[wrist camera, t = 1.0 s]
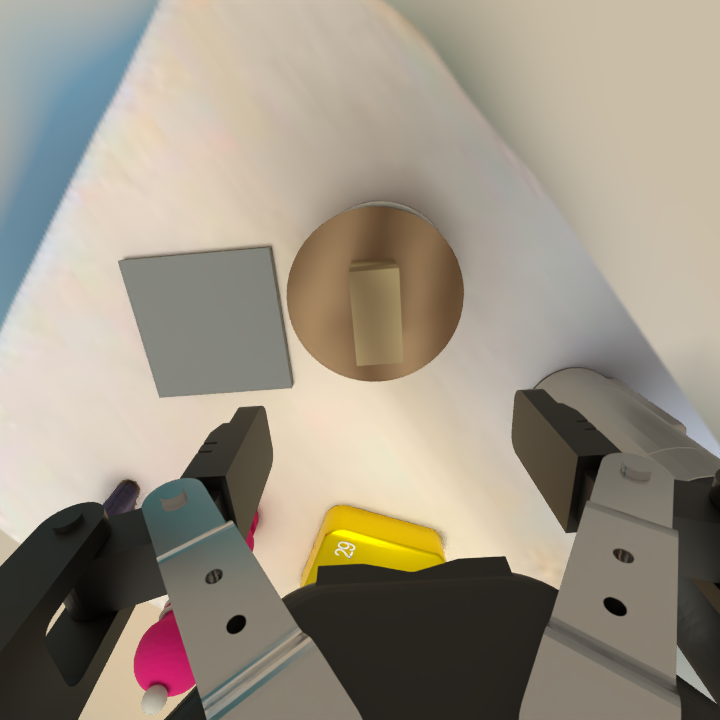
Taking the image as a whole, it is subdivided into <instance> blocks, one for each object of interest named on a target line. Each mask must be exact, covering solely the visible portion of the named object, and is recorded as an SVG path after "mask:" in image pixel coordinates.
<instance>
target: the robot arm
mask: <svg viewBox="0 0 720 720" xmlns="http://www.w3.org/2000/svg"><path fill="white" fill-rule="evenodd" d="M512 443H513V448H514V450H515V453H516V454H517V456H518V458H519V459H520V461H521V462H522V464H523V466H524V467H525V469H526V470H527V472H528V474H529V475H530V477H531V478H532V480H533V481H534V483H535V485H536V486H537V488H538V489H539V491H540V493H541V494H542V496H543V497H544V499H545V501H546V502H547V504H548V505H549V507H550V508H551V510H552V512H553V513H554V515H555V516H556V518H557V520H558V521H559V523H560V524H561V526H562V528H563V529H564V531H565V532H566V533H574V532H577V534H576V537H575V541H574V544H573V547H572V550H571V553H570V557H569V560H568V563H567V566H566V570H565V573H564V576H563V579H562V583H561V586H560V589H559V590H557V589H556V588H554V587H552V586H550V585H548V584H546V583H544V582H542V581H539V580H537V579H534V578H531V577H528V576H525V575H521V574H517V573H512V572H511V569H510V567H509V565H508V562H507V560H506V557H505V556H502V557H483V558H463V559H456V560H453V561H449V562H446V563H442V564H439V565H436V566H432V567H429V568H425V569H422V570H419V571H414V572H409V571H402V570H397V569H391V568H386V567H380V566H374V565H369V564H345V565H326V566H318V571H317V579H316V582H314V583H311V584H308V585H306V586H304V587H301V588H299V589H297V590H295V591H293V592H291V593H290V594H288V595H286V596H285V597H283V598H282V599H281V598H280V596H279V595H278V593H277V591H276V590H275V588H274V587H273V585H272V583H271V582H270V580H269V579H268V577H267V575H266V574H265V572H264V571H263V569H262V567H261V566H260V564H259V562H258V561H257V559H256V558H255V556H254V554H253V553H252V551H251V550H250V548H249V546H248V545H247V543H246V539H247V536H248V533H249V531H250V528H251V525H252V522H253V519H254V516H255V513H256V510H257V508H258V505H259V502H260V499H261V496H262V493H263V490H264V487H265V484H266V482H267V479H268V476H269V473H270V470H271V467H272V462H273V448H272V442H271V437H270V431H269V426H268V420H267V415H266V411H265V408H264V407H263V406H252V407H239V408H238V410H237V411H236V413H235V415H234V416H233V418H232V419H231V421H230V423H223V424H222V425H220V426H219V427H218V428H216V429H215V430H214V431H212V432H211V433H210V434H209V436H208V437H207V439H206V440H205V442H204V445H202V446H201V448H200V449H199V451H198V453H197V454H196V455H195V457H194V458H193V460H192V461H191V463H190V464H189V466H188V467H187V469H186V470H185V472H184V473H183V475H182V476H181V478H180V479H177V480H173V481H170V482H168V483H165V484H163V485H161V486H160V487H158V488H156V489H155V490H154V491H152V492H151V493H150V494H149V495H148V496H147V497H146V498H145V500H144V502H143V504H142V508H139V509H136V510H132V511H129V512H125V513H121V514H118V515H114V516H110V517H108V516H107V514H106V511H105V509H104V507H103V505H101V504H99V503H96V502H86V503H80V504H76V505H73V506H70V507H68V508H65V509H63V510H61V511H59V512H57V513H55V514H54V515H52V516H51V517H49V518H48V519H46V520H45V521H44V522H42V523H41V524H40V525H39V526H38V527H37V528H36V529H35V530H34V531H33V533H32V534H31V535H30V536H29V537H28V538H27V539H26V540H25V541H24V542H23V543H22V544H21V545H20V546H19V547H18V548H17V550H16V551H15V552H14V553H13V554H12V555H11V556H10V557H9V558H8V559H7V560H6V561H5V562H4V563H3V565H1V566H0V720H78V718H79V716H80V714H81V712H82V710H83V708H84V706H85V704H86V703H87V701H88V699H89V697H90V695H91V693H92V691H93V689H94V687H95V684H96V683H97V681H98V679H99V677H100V675H101V673H102V671H103V669H104V667H105V665H106V663H107V661H108V659H109V657H110V655H111V653H112V651H113V649H114V647H115V645H116V643H117V641H118V639H119V637H120V635H121V633H122V631H123V629H124V628H125V626H126V624H127V622H128V620H129V618H130V616H131V614H132V611H133V610H134V608H135V605H136V604H139V603H143V602H146V601H149V600H152V599H155V598H158V597H161V596H164V595H167V594H168V597H169V600H170V603H171V606H172V609H173V612H174V616H175V619H176V622H177V625H178V628H179V631H180V635H181V638H182V641H183V644H184V647H185V650H186V654H187V657H188V660H189V663H190V666H191V669H192V673H193V676H194V679H195V682H196V686H195V687H194V688H193V689H192V691H191V692H190V693H189V694H188V695H187V696H186V697H185V698H184V699H183V700H182V701H181V702H180V703H179V704H178V705H177V707H176V708H175V709H174V710H173V711H172V712H171V713H170V714H169V715H168V716H167V717H166V718H165V719H164V720H720V459H719V458H718V457H716V456H715V455H713V454H712V453H710V452H709V451H708V450H706V449H705V448H703V447H702V446H701V445H699V444H698V443H696V442H695V441H693V440H692V439H691V438H689V437H688V436H686V427H685V426H684V425H683V424H682V423H681V422H679V421H678V420H676V419H675V418H673V417H672V416H671V415H669V414H668V413H666V412H665V411H663V410H662V409H660V408H659V407H657V406H656V405H654V404H653V403H651V402H650V401H648V400H647V399H646V398H644V397H643V396H641V395H640V394H638V393H637V392H635V391H634V390H632V389H631V388H629V387H628V386H626V385H625V384H624V383H622V382H621V381H619V380H618V379H616V378H612V379H609V378H605V377H603V376H602V375H600V374H599V373H597V372H595V371H592V370H590V369H584V368H570V369H566V370H562V371H559V372H556V373H554V374H552V375H550V376H549V377H547V378H546V379H544V380H543V381H542V382H541V383H540V384H539V385H537V386H536V388H535V389H528V390H518V391H517V392H516V394H515V398H514V410H513V422H512ZM62 603H64V605H65V609H64V611H63V612H62V613H61V615H60V616H59V618H58V619H57V621H56V622H55V624H54V625H53V627H52V628H51V629H50V631H49V633H48V634H47V636H46V631H47V628H48V625H49V623H50V621H51V619H52V617H53V616H54V614H55V613H56V611H57V610H58V609H59V607H60V606H61V604H62ZM677 645H678V647H679V648H680V650H681V651H682V653H683V654H684V656H685V657H686V659H687V660H688V662H689V663H690V665H691V666H692V668H693V669H694V671H695V672H696V674H697V675H698V676H699V678H700V679H701V681H702V682H703V684H704V685H705V687H706V688H707V690H708V691H709V693H710V694H711V696H712V697H713V699H714V700H715V702H716V703H717V704H718V705H717V704H716V703H715V702H713V701H711V699H709V698H708V697H706V696H705V695H704V694H702V693H701V692H700V691H698V690H697V689H695V688H694V687H693V686H691V685H690V684H689V683H687V682H686V681H684V680H683V679H682V678H680V677H679V676H678V675H676V648H677Z"/></svg>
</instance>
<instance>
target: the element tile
mask: <svg viewBox="0 0 720 720" xmlns="http://www.w3.org/2000/svg"><path fill="white" fill-rule="evenodd" d="M442 563H446V559H445V555H444V550H443V546H442V542H441V537H440V536H439V534H438V533H437V532H436V531H434V530H432V529H430V528H426V527H423V526H419V525H415V524H412V523H408V522H405V521H401V520H397V519H394V518H390V517H387V516H383V515H379V514H376V513H372V512H369V511H365V510H361V509H358V508H354V507H350V506H346V505H339V506H335V507H332V508H331V509H330V510H329V511H328V512H327V514H326V516H325V518H324V521H323V523H322V526H321V529H320V531H319V534H318V536H317V539H316V541H315V544H314V546H313V549H312V551H311V554H310V556H309V559H308V561H307V564H306V567H305V569H304V572H303V574H302V580H301V586H300V588H301V587H304V586H306V585H308V584H311V583H314V582H316V579H317V571H318V566H326V565H345V564H369V565H374V566H380V567H386V568H391V569H397V570H402V571H409V572H414V571H419V570H422V569H425V568H429V567H432V566H436V565H439V564H442Z"/></svg>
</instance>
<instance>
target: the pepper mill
mask: <svg viewBox="0 0 720 720" xmlns="http://www.w3.org/2000/svg"><path fill="white" fill-rule="evenodd" d="M257 523H258V513H257V511H256V513H255V516H254V519H253V522H252V525H251V528H250V531H249V533H248V536H247V539H246V543H247V545H248V546H249V548H250V550H251V551H252V552H253V548H254V538H253V534H254V532H255V529H256V526H257ZM134 673H135V677H136V679H137V681H138V683H139V685H140V686H141V687H142V688H143V689H144V690H145V691H146V693H145V694H144V696H143V699H142V703H141V705H142V710H143V711H144V713H146V714H148V715H153V714H156V713H158V712H159V711H160V710H161V709H162V708H163V707H164V705H165V703H166V701H167V697H170V696H175V695H179V694H182V693H184V692H186V691H187V690H189V689H190V688H191V687H193V686H194V685H195V684H196V682H195V679H194V676H193V673H192V669H191V666H190V663H189V660H188V657H187V654H186V650H185V647H184V644H183V641H182V638H181V635H180V631H179V628H178V625H177V622H176V619H175V616H174V612H173V609H172V606H171V603H170V600H168V601H167V602H166V604H165V606H164V610H163V611H162V612H161V614H160V617H159V621H158V622H157V623H155V624H154V625H152V626H151V627H150V628H149V629H148V630H147V631H146V633H145V634H144V635H143V637H142V639H141V641H140V642H139V645H138V648H137V650H136V654H135V657H134Z"/></svg>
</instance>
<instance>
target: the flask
mask: <svg viewBox="0 0 720 720" xmlns="http://www.w3.org/2000/svg"><path fill="white" fill-rule="evenodd" d="M139 491H140V488H139V486H138V485H137V484H136V482H133V481H130V480H123V481H122V482H121V483H120V484H119V485H118V486H117V488H116V489H115V491H114V492H113V493H112V494H111V495H110V497H109V498H108V499H107V500H106V501H105V503H104V504H103V507H104V509H105V511H106V514H107V516H108V517H110V516H114V515H118V514H121V513H125V512H129V511H132V510H135V509H134V506H135V505H137V504H136V499H137V497H138V494H139Z"/></svg>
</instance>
